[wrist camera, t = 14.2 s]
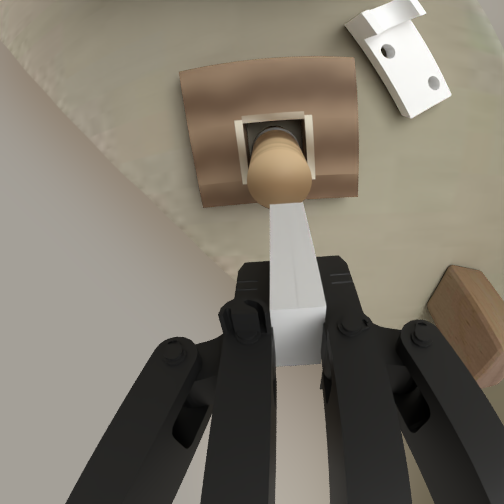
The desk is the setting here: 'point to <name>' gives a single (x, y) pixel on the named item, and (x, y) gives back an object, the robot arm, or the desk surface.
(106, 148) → the desk surface
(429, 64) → the bracket
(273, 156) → the oak peg
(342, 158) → the seat board
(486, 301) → the wooden block
